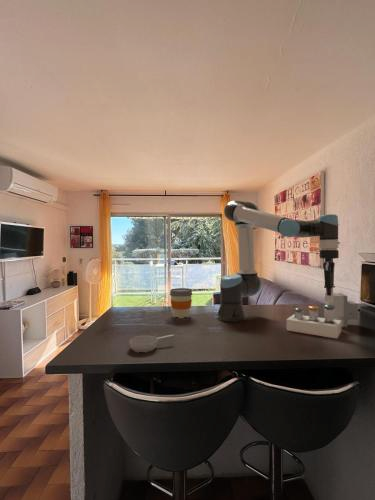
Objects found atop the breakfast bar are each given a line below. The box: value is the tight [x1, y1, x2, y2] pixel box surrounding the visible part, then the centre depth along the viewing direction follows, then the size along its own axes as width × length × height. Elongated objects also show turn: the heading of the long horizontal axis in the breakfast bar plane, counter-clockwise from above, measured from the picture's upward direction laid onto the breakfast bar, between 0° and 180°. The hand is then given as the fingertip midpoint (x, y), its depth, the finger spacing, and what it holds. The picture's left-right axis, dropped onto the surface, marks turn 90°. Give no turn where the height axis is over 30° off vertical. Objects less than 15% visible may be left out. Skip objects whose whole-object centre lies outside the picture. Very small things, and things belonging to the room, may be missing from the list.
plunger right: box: [323, 304, 335, 324], centre depth 125 cm, size 4×4×9 cm
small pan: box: [129, 333, 175, 353], centre depth 110 cm, size 11×18×4 cm, turn 114°
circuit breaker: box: [324, 292, 361, 328], centre depth 137 cm, size 8×14×15 cm, turn 78°
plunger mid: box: [308, 305, 320, 322], centre depth 128 cm, size 4×4×9 cm
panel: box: [286, 313, 342, 339], centre depth 128 cm, size 21×12×5 cm, turn 54°
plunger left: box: [293, 307, 305, 320], centre depth 132 cm, size 4×4×9 cm
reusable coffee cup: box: [169, 287, 193, 319], centre depth 158 cm, size 13×13×15 cm
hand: (329, 302), depth 124 cm, fingers closed
